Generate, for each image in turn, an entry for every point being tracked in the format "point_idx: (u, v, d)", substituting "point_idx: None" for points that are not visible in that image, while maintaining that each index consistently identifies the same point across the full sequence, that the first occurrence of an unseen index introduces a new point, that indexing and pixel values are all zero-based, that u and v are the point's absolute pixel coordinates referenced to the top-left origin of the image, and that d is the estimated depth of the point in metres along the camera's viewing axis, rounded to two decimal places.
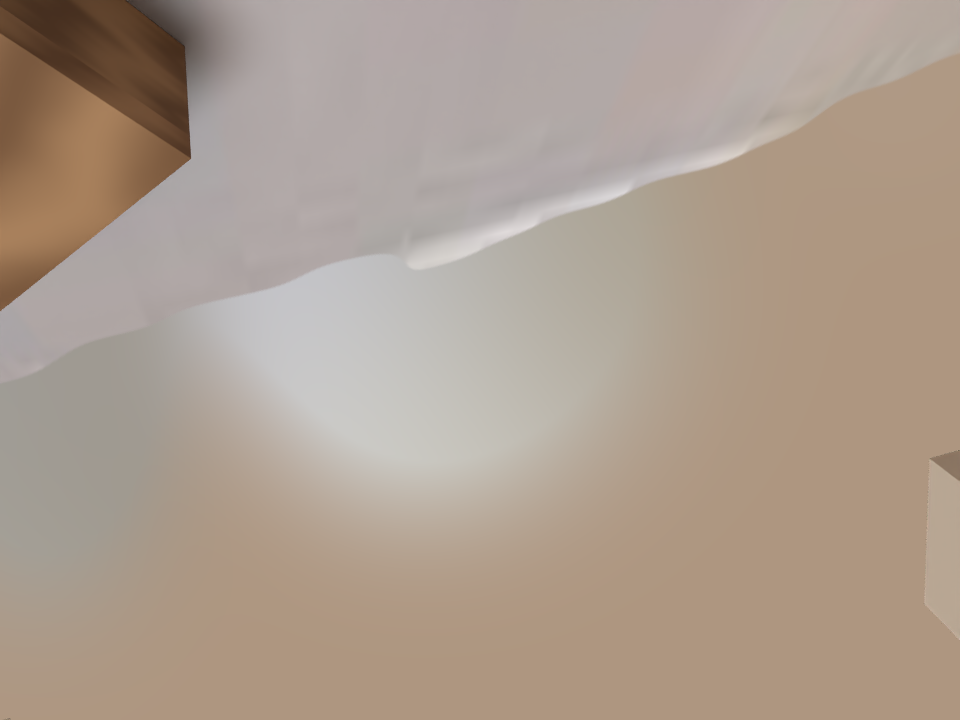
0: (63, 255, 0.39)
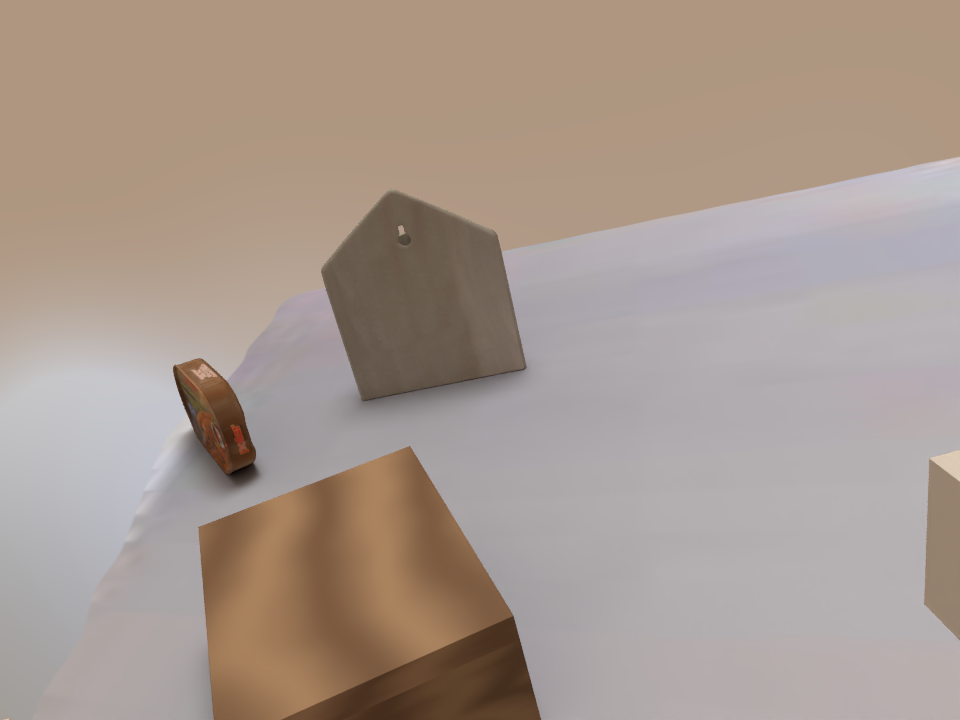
0: (210, 619, 0.43)
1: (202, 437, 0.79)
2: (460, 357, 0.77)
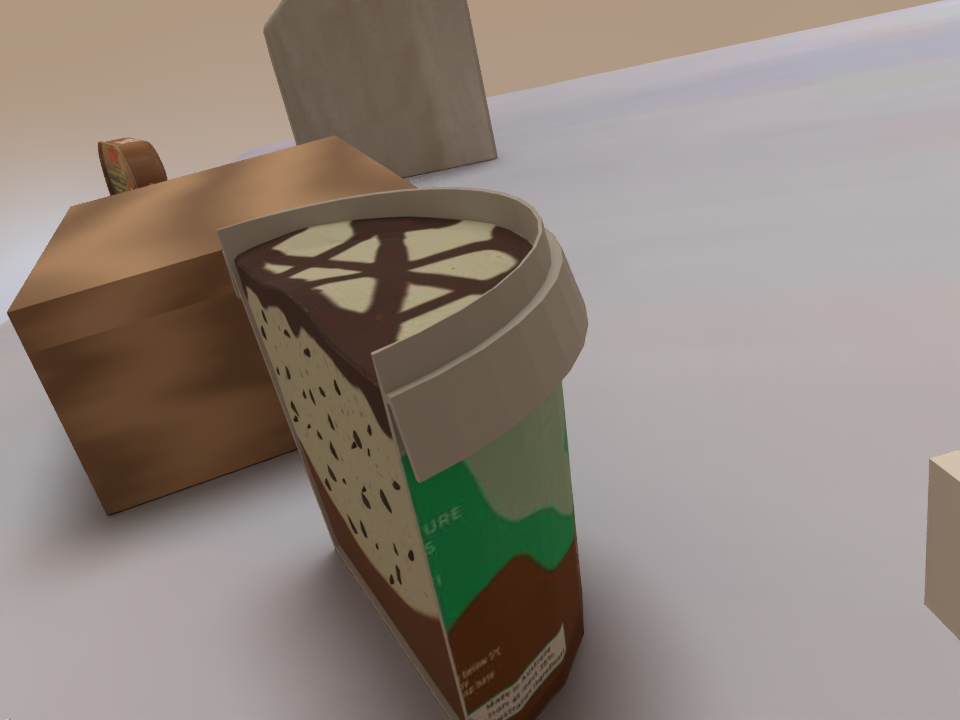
0: (50, 247, 0.34)
1: None
2: (422, 143, 0.68)
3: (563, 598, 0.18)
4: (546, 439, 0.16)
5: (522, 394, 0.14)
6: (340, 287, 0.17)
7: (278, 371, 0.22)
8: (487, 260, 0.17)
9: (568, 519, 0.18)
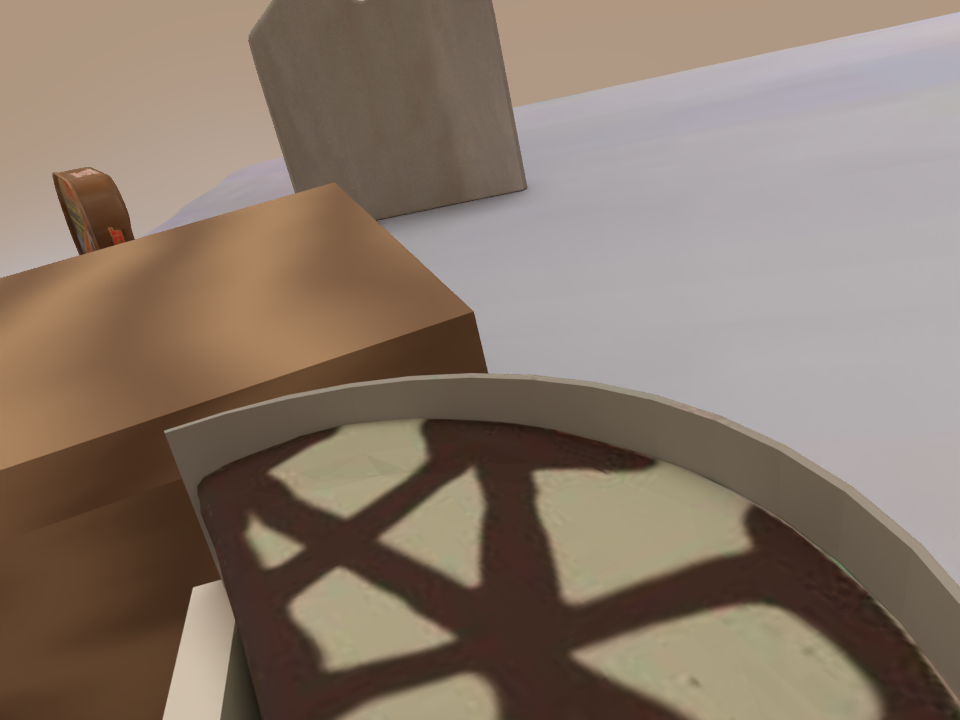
0: None
1: None
2: (438, 172, 0.57)
3: None
4: None
5: None
6: None
7: None
8: (781, 662, 0.07)
9: None
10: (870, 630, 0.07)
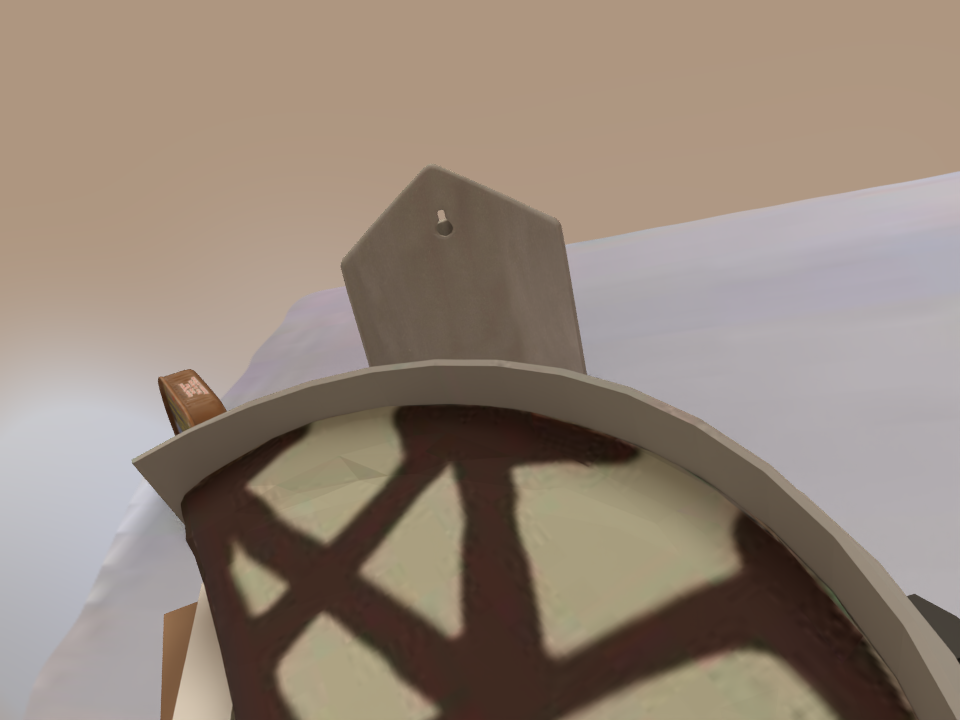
0: None
1: None
2: None
3: None
4: None
5: None
6: None
7: None
8: None
9: None
10: (864, 687, 0.06)
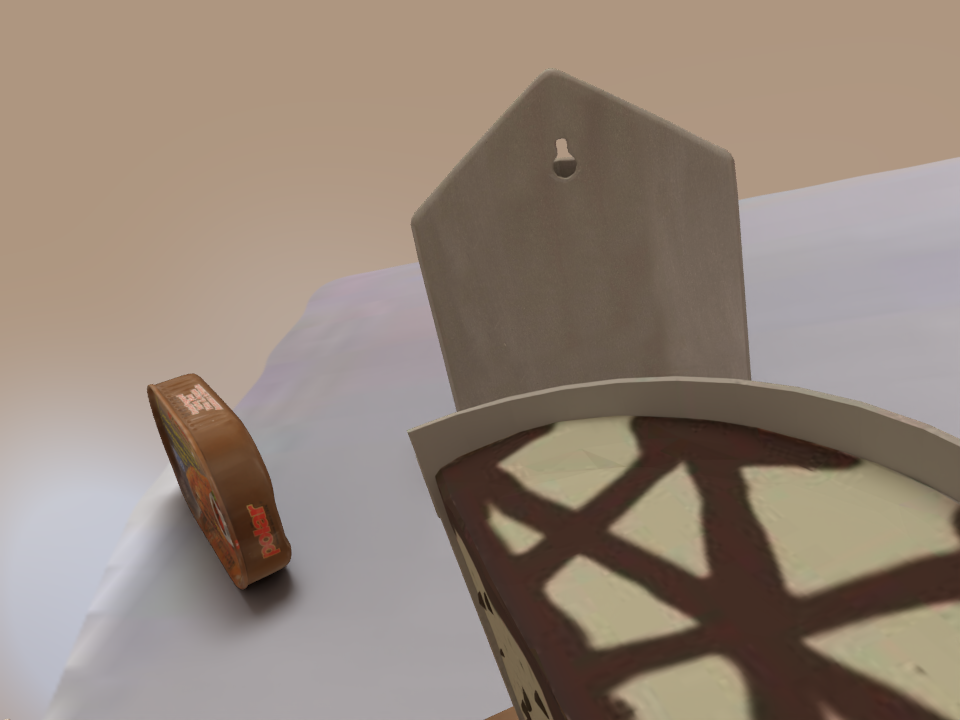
0: None
1: (195, 507, 0.46)
2: None
3: None
4: None
5: None
6: (674, 702, 0.08)
7: (503, 656, 0.13)
8: None
9: None
10: None
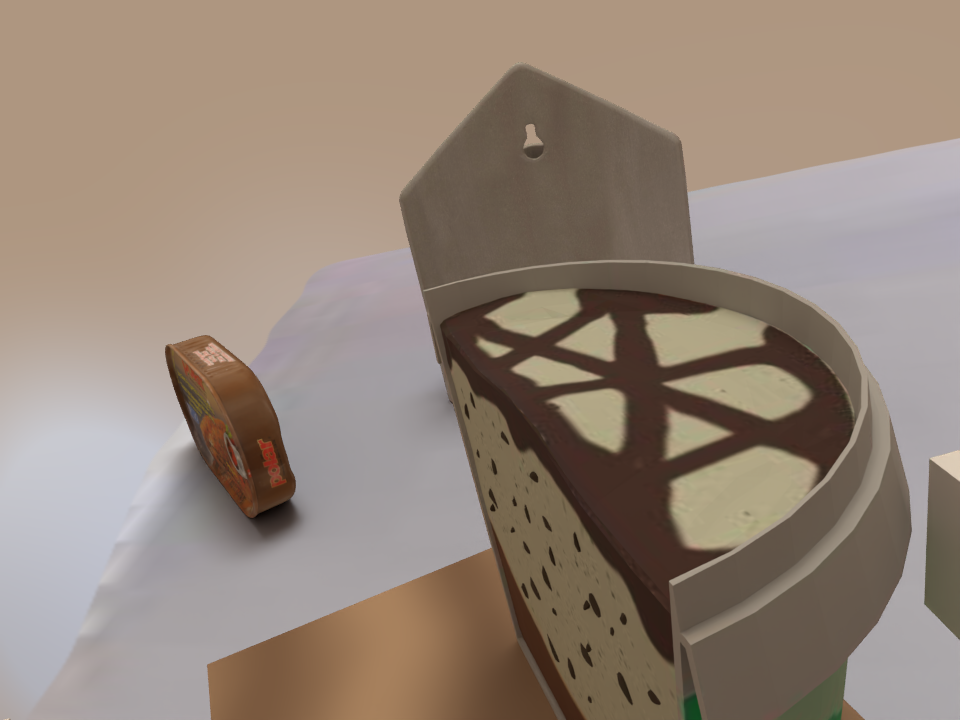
0: None
1: (208, 456, 0.52)
2: None
3: None
4: None
5: (850, 625, 0.10)
6: (582, 404, 0.14)
7: (478, 454, 0.19)
8: (768, 384, 0.14)
9: (840, 714, 0.14)
10: (815, 371, 0.14)
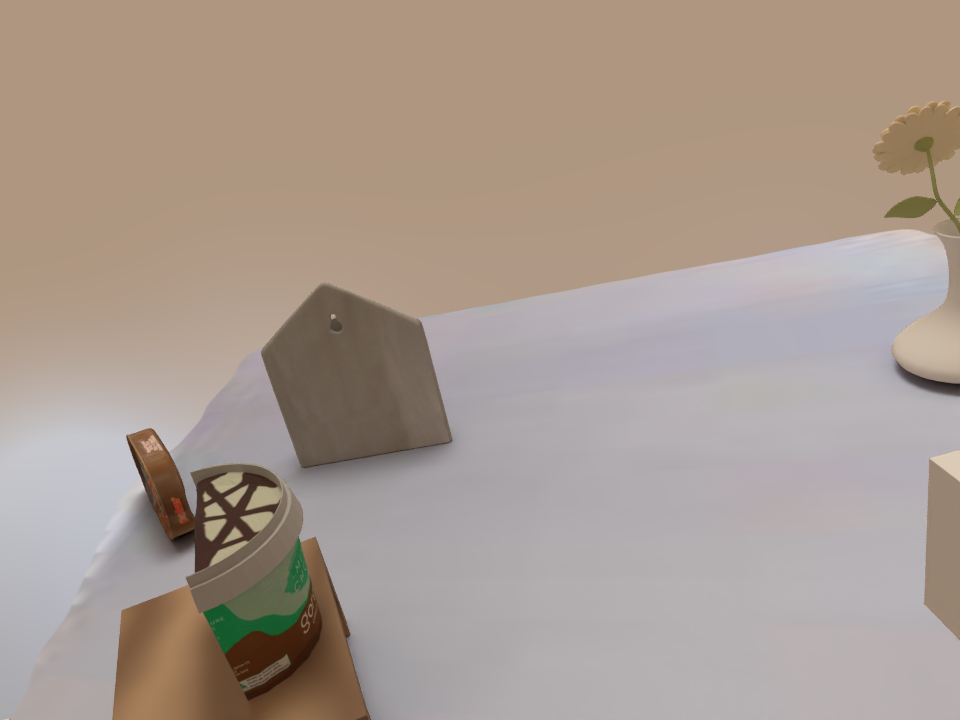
0: (117, 704, 0.49)
1: (153, 499, 0.85)
2: (390, 431, 0.84)
3: (286, 645, 0.48)
4: (267, 592, 0.46)
5: (239, 587, 0.43)
6: (212, 524, 0.47)
7: None
8: (265, 519, 0.47)
9: (289, 616, 0.47)
10: None
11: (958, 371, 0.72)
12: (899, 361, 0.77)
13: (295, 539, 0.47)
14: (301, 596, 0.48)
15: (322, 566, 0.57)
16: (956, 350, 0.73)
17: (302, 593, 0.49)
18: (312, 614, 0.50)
